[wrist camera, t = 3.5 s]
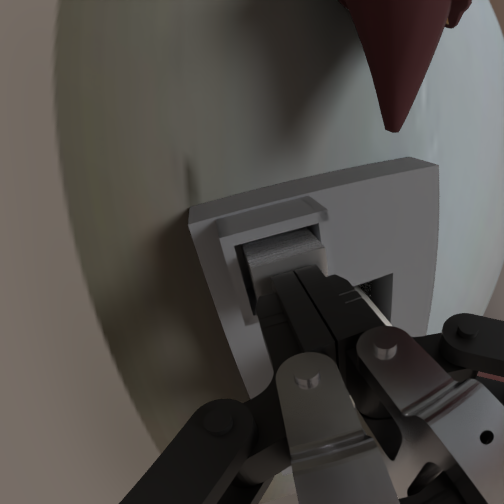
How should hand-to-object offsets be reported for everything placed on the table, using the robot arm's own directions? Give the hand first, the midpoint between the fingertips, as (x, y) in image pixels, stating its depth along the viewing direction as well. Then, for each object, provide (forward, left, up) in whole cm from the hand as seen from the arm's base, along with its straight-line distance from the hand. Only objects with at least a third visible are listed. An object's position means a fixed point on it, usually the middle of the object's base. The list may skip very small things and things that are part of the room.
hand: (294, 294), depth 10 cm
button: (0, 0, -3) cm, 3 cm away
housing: (+10, +3, -6) cm, 12 cm away
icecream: (-11, +8, -6) cm, 15 cm away
